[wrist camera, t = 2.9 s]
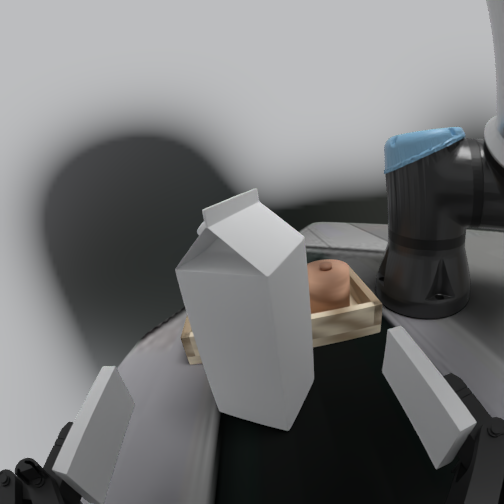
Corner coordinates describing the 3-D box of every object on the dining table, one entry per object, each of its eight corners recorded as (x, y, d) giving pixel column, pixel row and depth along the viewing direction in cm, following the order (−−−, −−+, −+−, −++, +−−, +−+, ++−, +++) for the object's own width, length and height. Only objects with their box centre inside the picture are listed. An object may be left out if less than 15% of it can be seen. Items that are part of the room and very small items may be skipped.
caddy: (347, 286, 45) (345, 242, 42) (380, 332, 32) (383, 277, 30) (201, 310, 45) (190, 267, 42) (189, 364, 32) (172, 312, 30)
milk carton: (314, 379, 27) (299, 185, 21) (289, 432, 21) (257, 206, 15) (252, 368, 31) (218, 191, 24) (219, 412, 25) (160, 213, 19)
